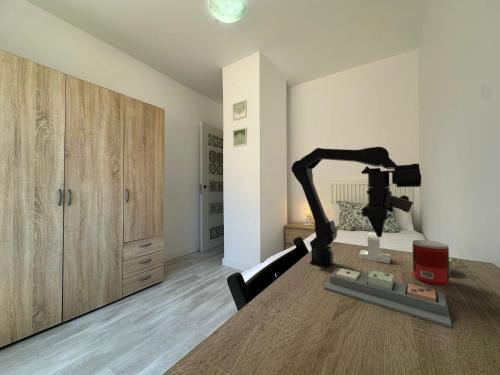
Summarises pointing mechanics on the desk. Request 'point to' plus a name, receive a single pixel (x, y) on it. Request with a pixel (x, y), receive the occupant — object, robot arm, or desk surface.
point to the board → (393, 298)
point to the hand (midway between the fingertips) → (379, 236)
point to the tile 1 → (348, 274)
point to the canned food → (431, 262)
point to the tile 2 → (381, 280)
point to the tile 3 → (421, 292)
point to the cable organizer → (374, 250)
